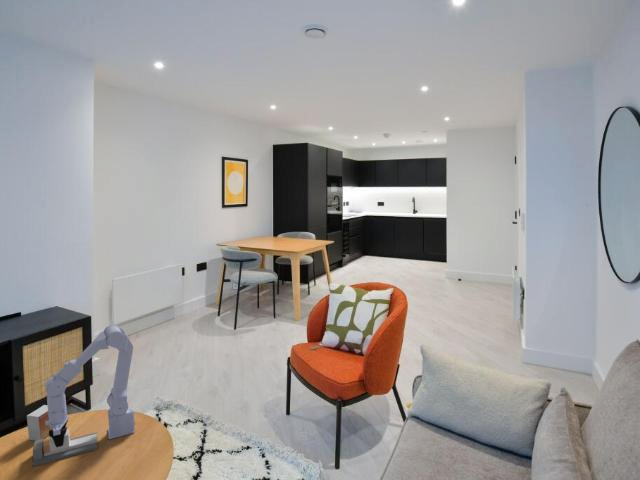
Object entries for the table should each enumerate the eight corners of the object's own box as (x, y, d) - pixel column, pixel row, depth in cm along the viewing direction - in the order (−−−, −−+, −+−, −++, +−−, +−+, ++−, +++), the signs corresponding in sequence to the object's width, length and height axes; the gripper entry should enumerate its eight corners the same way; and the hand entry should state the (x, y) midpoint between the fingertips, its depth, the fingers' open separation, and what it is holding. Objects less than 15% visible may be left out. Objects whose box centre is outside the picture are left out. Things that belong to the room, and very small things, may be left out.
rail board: (97, 434, 160) (96, 423, 159) (96, 449, 152) (96, 437, 151) (36, 450, 151) (35, 438, 150) (33, 466, 142) (31, 453, 141)
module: (70, 440, 153) (69, 427, 152) (69, 446, 149) (68, 433, 149) (51, 444, 150) (50, 432, 150) (50, 451, 146) (49, 438, 146)
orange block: (51, 444, 150) (50, 438, 150) (50, 450, 147) (49, 444, 146) (45, 446, 149) (44, 440, 149) (43, 452, 146) (43, 446, 145)
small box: (40, 442, 155) (38, 417, 154) (28, 440, 156) (26, 415, 155) (57, 429, 163) (55, 406, 162) (46, 428, 164) (43, 404, 163)
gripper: (46, 402, 152) (49, 434, 154) (41, 422, 140) (45, 457, 141) (68, 397, 155) (71, 429, 157) (65, 416, 143) (68, 450, 145)
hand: (60, 442), depth 150 cm, fingers closed on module, 4 cm apart
